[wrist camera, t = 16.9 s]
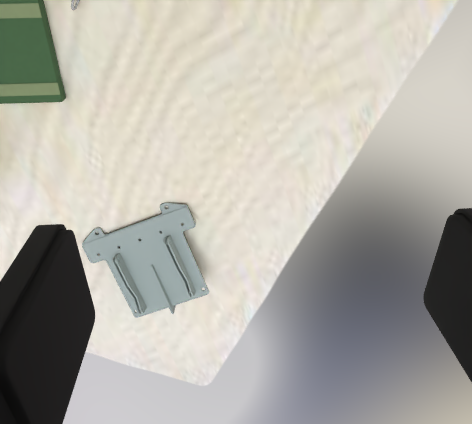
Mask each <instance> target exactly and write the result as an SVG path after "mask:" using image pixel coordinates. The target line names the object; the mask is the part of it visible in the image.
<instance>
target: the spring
mask: <svg viewBox="0 0 472 424" xmlns="http://www.w3.org/2000/svg"><path fill="white" fill-rule="evenodd" d="M78 3H79V0H77V2H76V5H75V6H74V0H72V4H71V7H72V10H75V9H76V8H77V6H78ZM73 6H74V7H73Z"/></svg>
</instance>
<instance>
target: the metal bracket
mask: <svg viewBox="0 0 472 424" xmlns="http://www.w3.org/2000/svg"><path fill="white" fill-rule="evenodd" d="M165 206H168V207H169V208H168V209H165ZM160 208H161V211H162V214H161V215H158V216H155V217H153V218H150V219H147V220H145V221H142V222H139V223H136V224H134V225H131V226H128V227H125V228H123V229H120V230H117V231H115V232H112V233H109V234H104V233H103V231H102V229H101V228H96V229H94V230H93V231H92V232H91V234H90V235H89V236H88V237H87V238H86V239H85V241H84V242H83V243H82V245H83V246H82V247H83V249H84V251H85V253H86V255H87V257H88V259H89V261H90V262H91V263H96V262H99V261H102V260H106V261H107V263H108V265H109V267H110V269H111V271H112V273H113V275H114V277H115V279H116V281H117V283H118V285H119V287H120V289H121V291H122V293H123V295H124V297H125V299H126V301H127V303H128V305H129V307H130V309H131V311H132V313H133V315H134V316H135V317H136V318H137V317H141V316H144V315H147V314H150V313H153V312H156V311H159V310H162V309H165V308H168V307H169V309H170V311H171V313H172V314H174V310H175V305H177V304H180V303H183V302H186V301H189V300H192V299H195V298H198V297H201V296H204V295H207V294H208V293H209V290H208V288H207V286H206V283H205V281H204V279H203V277H202V274H201V272H200V270H199V268H198V265H197V263H196V261H195V259H194V256H193V254H192V252H191V250H190V247H189V245H188V243H187V241H186V239H185V236H184V234H183V232H184V231H185V230H188V229H191V228H194V227H195V225H196V224H195V222H194V219H193V217H192V215H191V212H190V210H189V208H188V206H187V205H185V204H175V203H163V204H161V205H160ZM181 223H183V224H184V225H183V226H182V225H181ZM160 231H162V233H160ZM95 232H99V235H96V233H95ZM139 239H141V241H139ZM118 246H120V248H118ZM98 254H100V256H99V255H98ZM201 288H205V290H202V289H201ZM135 310H136V311H137V312H135Z"/></svg>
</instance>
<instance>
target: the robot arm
mask: <svg viewBox="0 0 472 424" xmlns="http://www.w3.org/2000/svg"><path fill="white" fill-rule="evenodd" d="M424 303H425V306H426V308H427V310H428V312H429V313H430V315H431V317H432V318H433V320H434V322H435V323H436V325H437V326H438V328H439V330H440V331H441V333H442V334H443V336H444V338H445V339H446V341H447V343H448V344H449V346H450V348H451V349H452V351H453V352H454V354H455V356H456V357H457V359H458V361H459V362H460V364H461V366H462V367H463V368H464V370H465V372H466V374H467V375H468V377H469V379H470V380H471V382H472V208H469V209H468V208H467V209H458V210H456V211H455V212H454V214H453V215H450V216H449V217H448V219H447V221H446V224H445V228H444V231H443V234H442V238H441V240H440V244H439V247H438V250H437V253H436V256H435V260H434V263H433V266H432V269H431V272H430V276H429V279H428V282H427V286H426V288H425V292H424ZM94 322H95V309H94V305H93V302H92V298H91V294H90V290H89V287H88V283H87V279H86V276H85V272H84V268H83V265H82V261H81V257H80V254H79V250H78V246H77V243H76V239H75V235H74V233H73V231H72V230H66V228H65V226H64V225H62V224H56V225H38V226H36V228H35V229H34V230H33V232H32V233H31V235H30V237H29V238H28V240H27V241H26V243H25V244H24V246H23V247H22V249H21V250H20V252H19V254H18V255H17V257H16V258H15V260H14V261H13V263H12V264H11V266H10V267H9V269H8V271H7V272H6V274H5V275H4V277H3V278H2V280H1V281H0V424H62V423H63V420H64V417H65V414H66V411H67V407H68V404H69V401H70V398H71V395H72V392H73V389H74V385H75V382H76V379H77V376H78V373H79V370H80V366H81V363H82V360H83V357H84V354H85V351H86V348H87V344H88V341H89V338H90V335H91V332H92V329H93V325H94Z"/></svg>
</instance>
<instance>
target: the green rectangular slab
mask: <svg viewBox="0 0 472 424" xmlns="http://www.w3.org/2000/svg"><path fill="white" fill-rule="evenodd" d="M65 98H66V96H65V92H64V87H63V83H62V79H61V75H60V70H59V66H58V62H57V58H56V53H55V49H54V45H53V41H52V36H51V32H50V28H49V23H48V19H47V15H46V11H45V6H44V2H43V0H0V104H3V103H39V102H62V101H63V100H64V99H65Z"/></svg>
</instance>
